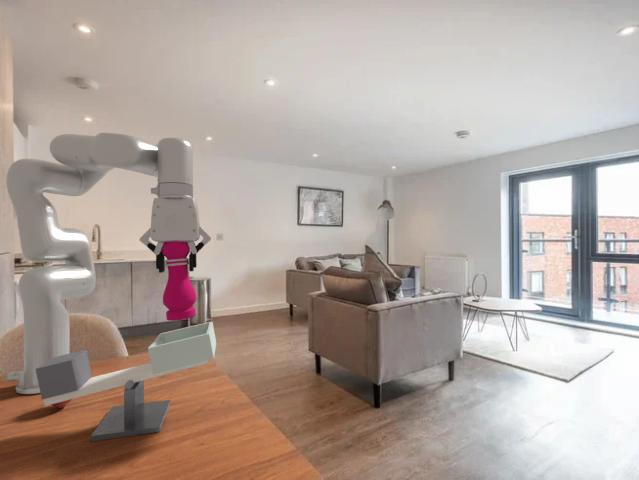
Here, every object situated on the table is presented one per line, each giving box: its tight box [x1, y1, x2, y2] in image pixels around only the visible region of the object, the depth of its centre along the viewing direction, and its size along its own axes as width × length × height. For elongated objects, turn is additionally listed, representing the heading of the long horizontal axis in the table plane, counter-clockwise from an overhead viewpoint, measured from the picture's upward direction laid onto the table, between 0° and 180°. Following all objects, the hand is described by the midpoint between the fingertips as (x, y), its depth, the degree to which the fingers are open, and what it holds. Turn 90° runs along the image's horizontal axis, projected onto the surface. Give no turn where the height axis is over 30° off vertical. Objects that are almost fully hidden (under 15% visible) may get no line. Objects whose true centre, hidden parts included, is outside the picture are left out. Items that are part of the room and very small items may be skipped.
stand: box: [90, 380, 171, 442], centre depth 71 cm, size 12×12×8 cm
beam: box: [36, 321, 217, 407], centre depth 71 cm, size 32×12×8 cm, turn 105°
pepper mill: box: [162, 241, 198, 322], centre depth 77 cm, size 7×7×20 cm
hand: (176, 270), depth 78 cm, fingers closed on pepper mill, 5 cm apart
